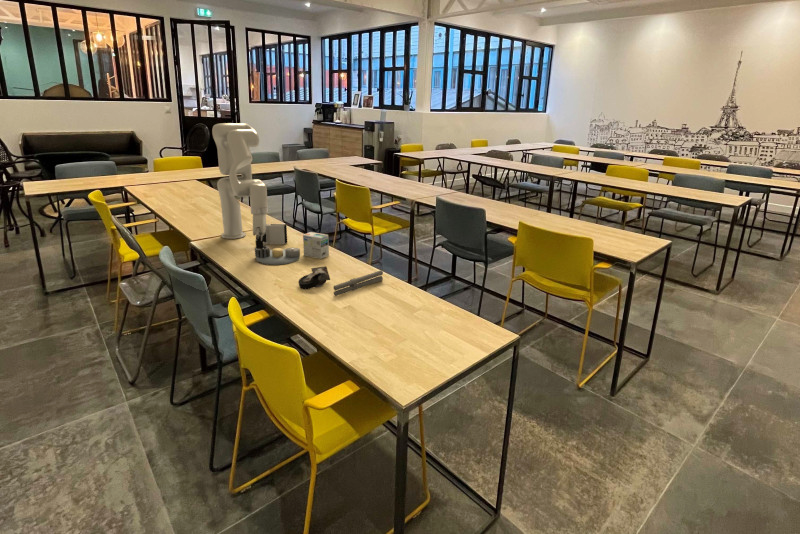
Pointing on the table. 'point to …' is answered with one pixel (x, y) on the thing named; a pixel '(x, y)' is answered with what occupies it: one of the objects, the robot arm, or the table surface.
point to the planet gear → (262, 252)
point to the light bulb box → (316, 245)
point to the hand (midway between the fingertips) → (261, 245)
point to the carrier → (281, 256)
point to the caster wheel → (314, 278)
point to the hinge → (276, 234)
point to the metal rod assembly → (357, 283)
